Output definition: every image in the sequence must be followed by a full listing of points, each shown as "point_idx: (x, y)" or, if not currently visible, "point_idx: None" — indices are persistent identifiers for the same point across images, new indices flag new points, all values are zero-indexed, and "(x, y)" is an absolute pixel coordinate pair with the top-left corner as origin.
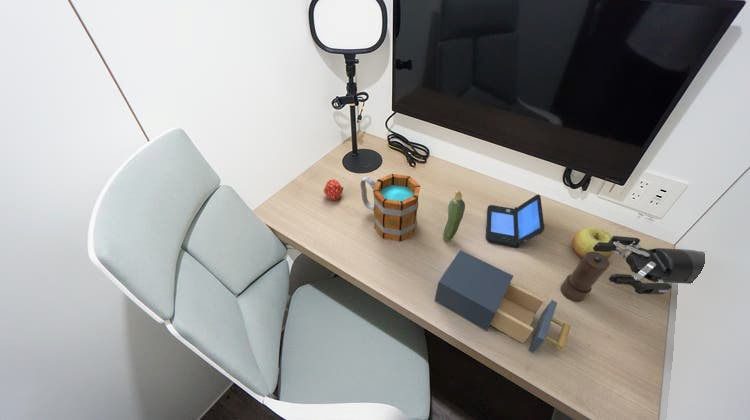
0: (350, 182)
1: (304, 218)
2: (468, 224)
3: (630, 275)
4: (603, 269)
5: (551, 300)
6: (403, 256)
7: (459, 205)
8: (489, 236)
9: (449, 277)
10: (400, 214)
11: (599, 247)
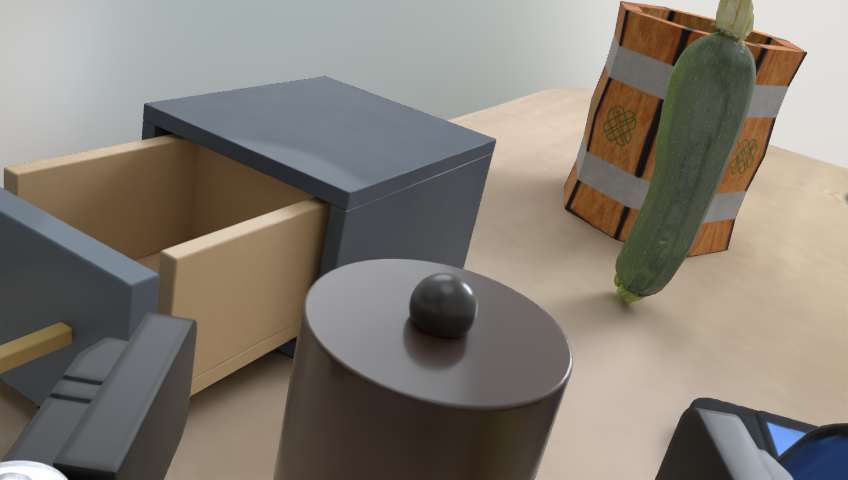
0: (791, 188)
1: (585, 117)
2: (783, 390)
3: (105, 458)
4: (300, 329)
5: (155, 273)
6: (497, 201)
7: (698, 43)
8: (721, 408)
9: (344, 91)
10: (612, 66)
11: (688, 458)
